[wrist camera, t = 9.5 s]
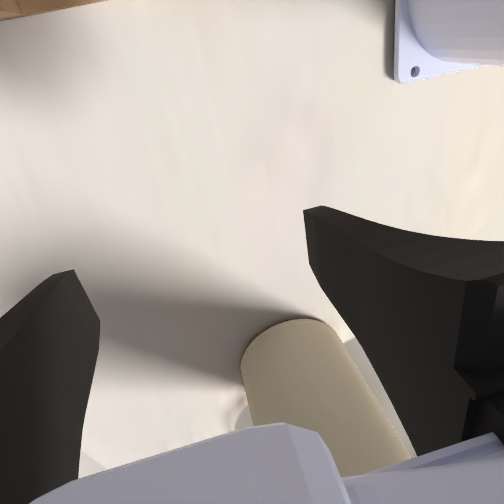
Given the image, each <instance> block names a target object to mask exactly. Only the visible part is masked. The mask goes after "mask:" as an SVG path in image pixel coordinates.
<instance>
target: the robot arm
mask: <svg viewBox="0 0 504 504" xmlns="http://www.w3.org/2000/svg"><path fill="white" fill-rule="evenodd" d="M485 65H489V66H504V0H395V46H394V79H395V81H396V82H398V83H400V84H407V83H411V82H416V81H420V80H424V79H429V78H433V77H437V76H442V75H446V74H450V73H455V72H459V71H463V70H468V69H472V68H476V67H481V66H485ZM413 67H415V73H414V75H413V76H411V69H412V68H413ZM303 214H304V222H305V231H306V240H307V248H308V257H309V264H310V266H311V269H312V271H313V273H314V275H315V277H316V279H317V281H318V283H319V285H320V287H321V288H322V290H323V291H324V293H325V294H326V296H327V297H328V298H329V300H330V301H331V303H332V304H333V306H334V307H335V308H336V310H337V311H338V313H339V314H340V316H341V317H342V318H343V320H344V321H345V323H346V324H347V325H348V327H349V328H350V330H351V331H352V333H353V334H354V335H355V337H356V338H357V340H358V342H359V343H360V345H361V346H362V348H363V350H364V351H365V353H366V355H367V357H368V359H369V360H370V362H371V364H372V366H373V368H374V370H375V372H376V374H377V375H378V377H379V379H380V381H381V383H382V385H383V387H384V389H385V391H386V393H387V394H388V397H389V399H390V400H391V402H392V404H393V406H394V408H395V410H396V413H397V415H398V417H399V419H400V420H401V423H402V425H403V427H404V429H405V431H406V433H407V435H408V437H409V439H410V441H411V443H412V446H413V448H414V450H415V452H416V454H417V456H418V457H415V458H412V459H409V460H406V461H403V462H400V463H397V464H394V465H391V466H388V467H384V468H381V469H378V470H375V471H372V472H369V473H366V474H363V475H357V476H349V477H341V476H340V474H339V471H338V469H337V467H336V464H335V462H334V459H333V457H332V454H331V452H330V450H329V449H328V447H327V446H326V444H325V443H324V441H323V439H322V438H321V436H320V435H319V433H318V432H315V431H312V430H308V429H305V428H301V427H297V426H294V425H290V424H287V423H283V422H281V423H273V424H266V425H258V426H252V427H245V428H242V429H239V430H236V431H232V432H229V433H226V434H223V435H219V436H216V437H213V438H210V439H206V440H203V441H200V442H197V443H193V444H190V445H187V446H184V447H180V448H177V449H174V450H171V451H167V452H164V453H161V454H158V455H154V456H151V457H148V458H145V459H141V460H138V461H135V462H132V463H128V464H125V465H122V466H119V467H115V468H112V469H109V470H106V471H102V472H99V473H96V474H93V475H90V476H86V477H83V478H80V479H78V472H79V459H80V449H81V439H82V429H83V423H84V417H85V412H86V408H87V403H88V398H89V394H90V389H91V384H92V380H93V375H94V371H95V366H96V361H97V356H98V350H99V338H100V320H99V318H98V316H97V314H96V312H95V310H94V308H93V306H92V304H91V302H90V300H89V298H88V296H87V295H86V293H85V291H84V289H83V287H82V285H81V283H80V281H79V279H78V277H77V275H76V273H75V271H74V269H73V270H69V271H65V272H61V273H58V274H54V275H52V276H50V277H49V278H47V279H46V280H44V281H43V282H42V283H41V284H39V285H38V286H37V287H36V288H35V289H33V290H32V291H31V292H30V293H29V294H28V295H26V296H25V297H24V298H23V299H22V300H21V301H19V302H18V303H17V304H16V305H15V306H14V307H13V308H11V309H10V310H9V311H8V312H7V313H6V314H5V315H3V316H2V317H1V318H0V504H504V241H482V240H468V239H458V238H448V237H440V236H433V235H427V234H422V233H416V232H411V231H406V230H402V229H398V228H394V227H390V226H386V225H382V224H379V223H376V222H372V221H369V220H366V219H363V218H360V217H357V216H354V215H351V214H348V213H345V212H342V211H339V210H336V209H333V208H330V207H326V206H318V207H314V208H310V209H306V210H303Z"/></svg>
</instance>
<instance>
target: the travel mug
mask: <svg viewBox="0 0 504 504" xmlns="http://www.w3.org/2000/svg"><path fill="white" fill-rule="evenodd" d="M241 375H242V379H243V383H244V388H245V392H246V396H247V400H248V404H249V409H250V413H251V417H252V421H253V425H254V426H258V425H266V424H273V423H281V422H283V423H287V424H290V425H294V426H297V427H301V428H305V429H308V430H312V431H315V432H318V433H319V435H320V436H321V438H322V439H323V441H324V443H325V444H326V446H327V447H328V449H329V450H330V452H331V454H332V457H333V459H334V462H335V464H336V467H337V469H338V471H339V474H340V476H341V477H349V476H357V475H363V474H366V473H369V472H372V471H375V470H378V469H381V468H384V467H388V466H391V465H394V464H397V463H400V462H403V461H406V460H409V459H412V458H411V456H410V455H409V453H408V451H407V450H406V448H405V446H404V445H403V443H402V441H401V440H400V438H399V436H398V435H397V433H396V432H395V430H394V428H393V426H392V425H391V423H390V421H389V420H388V418H387V416H386V415H385V413H384V411H383V410H382V408H381V407H380V405H379V403H378V401H377V400H376V398H375V397H374V395H373V393H372V392H371V390H370V388H369V386H368V385H367V383H366V381H365V380H364V378H363V377H362V375H361V373H360V372H359V370H358V368H357V366H356V365H355V363H354V362H353V360H352V358H351V356H350V355H349V353H348V352H347V350H346V348H345V346H344V345H343V343H342V341H341V340H340V338H339V336H338V335H337V333H336V332H335V331H334V330H333V329H332V328H331V327H330V326H329V325H327V324H325V323H323V322H320V321H317V320H312V319H295V320H289V321H285V322H282V323H279V324H277V325H274V326H272V327H270V328H269V329H267V330H265V331H264V332H262V333H261V334H260V335H258V336H257V337H256V338H255V339H254V340H253V341H252V342H251V343H250V345H249V346H248V347H247V349H246V351H245V353H244V355H243V357H242V361H241Z"/></svg>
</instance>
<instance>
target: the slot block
mask: <svg viewBox="0 0 504 504" xmlns="http://www.w3.org/2000/svg"><path fill="white" fill-rule="evenodd" d="M101 1H106V0H0V21H3V20H8V19H14V18H19V17H24V16H29V15H34V14H39V13H44V12H50V11H55V10H60V9H65V8H70V7H75V6H80V5H85V4H91V3H96V2H101Z"/></svg>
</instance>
